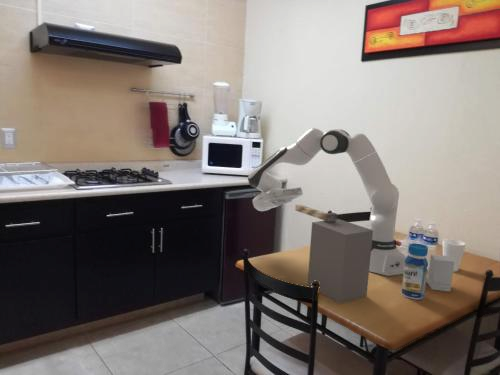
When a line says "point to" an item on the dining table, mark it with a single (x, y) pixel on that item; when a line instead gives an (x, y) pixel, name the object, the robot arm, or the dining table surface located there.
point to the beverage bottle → (415, 272)
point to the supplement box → (440, 272)
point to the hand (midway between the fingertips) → (291, 190)
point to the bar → (317, 213)
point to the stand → (340, 259)
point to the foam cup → (453, 251)
